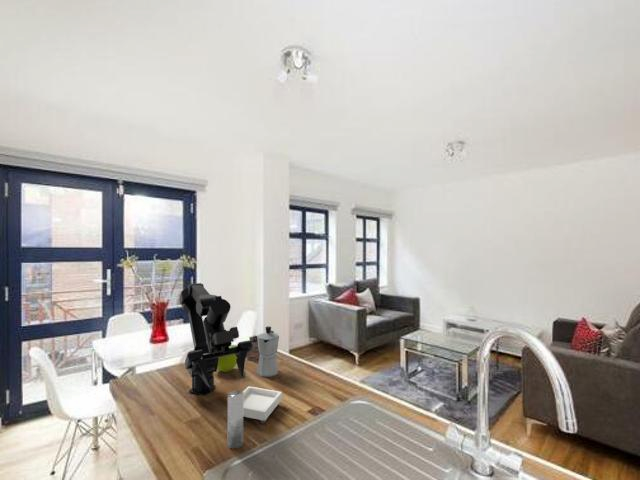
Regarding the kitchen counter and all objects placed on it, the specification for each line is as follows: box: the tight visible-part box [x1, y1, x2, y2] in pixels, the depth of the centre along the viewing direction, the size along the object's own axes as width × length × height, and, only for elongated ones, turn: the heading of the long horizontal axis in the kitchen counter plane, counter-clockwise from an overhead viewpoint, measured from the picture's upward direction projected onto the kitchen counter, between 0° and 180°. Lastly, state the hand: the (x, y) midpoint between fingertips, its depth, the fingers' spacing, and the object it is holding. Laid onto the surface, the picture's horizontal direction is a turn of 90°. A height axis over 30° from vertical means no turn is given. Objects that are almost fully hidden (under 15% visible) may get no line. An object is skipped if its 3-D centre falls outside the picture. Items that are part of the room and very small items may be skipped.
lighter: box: [245, 334, 260, 361], centre depth 138 cm, size 8×3×10 cm, turn 117°
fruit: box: [217, 345, 237, 373], centre depth 125 cm, size 9×9×10 cm
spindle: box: [226, 390, 244, 450], centre depth 82 cm, size 4×4×13 cm
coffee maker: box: [256, 326, 280, 378], centre depth 125 cm, size 15×9×18 cm, turn 179°
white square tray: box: [242, 385, 283, 424], centre depth 97 cm, size 12×12×4 cm
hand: (226, 382), depth 88 cm, fingers open, 9 cm apart
